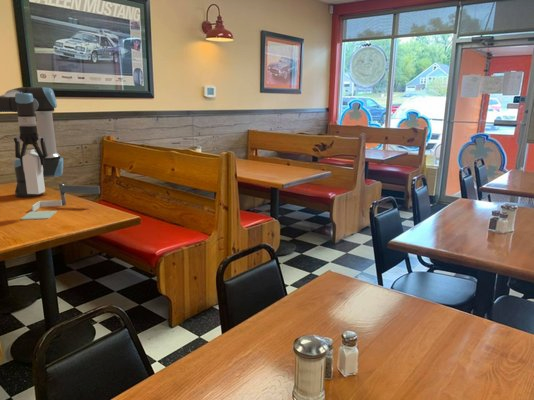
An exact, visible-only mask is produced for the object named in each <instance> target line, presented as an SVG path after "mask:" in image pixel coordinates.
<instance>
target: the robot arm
mask: <svg viewBox="0 0 534 400" xmlns="http://www.w3.org/2000/svg"><path fill="white" fill-rule="evenodd" d="M57 103H58V102H57V99H56V95H55V92H54V89H53V88H50V87H44V86H42V87H38V86H35V87H33V86H31V87H30V86H28V87H26V86H22V87H16V88H12V89H9V90H7V91H6V92H5V93H4V94H1V95H0V113H17V122H18V125H19V126H18V128H19V136H18V137H17V136H16V137H14V138H13V142H14V147H15V148H14V149H15V151H14V153H15V154H14V155H15V156H14V157H15V158H16V159H15V160H14V172H15V173H14V174H15V178H16V179H15V180H16V185H15V189H14V196H15V197H17V198H31V197H37V196H41V195H43V194H44V192H43V193H41V194H27V188H26V180H25V173H24V165H23V158H22V157H23V156H25V155H26V152H27V148H28V146H29V145H32V146H33V149H34V150H35V151H36V153H37V154H38V155H39V157H40V158H39V159H38V161H39V169H40V172H43V177H44V178H55V177H56V178H57V177H61V176H63V173H64V172H63V171H64V158H63V157H61V154H60V153H58V151H57V143H56V142H57V141H56V134H55V125H54V119H53V113H54V112H55V111H56V110H55V109H56V108H57V107H58V105H57ZM38 140H39V141H38ZM21 141H22V146H21ZM38 142H39V144H38ZM39 145H40V146H39Z"/></svg>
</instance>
